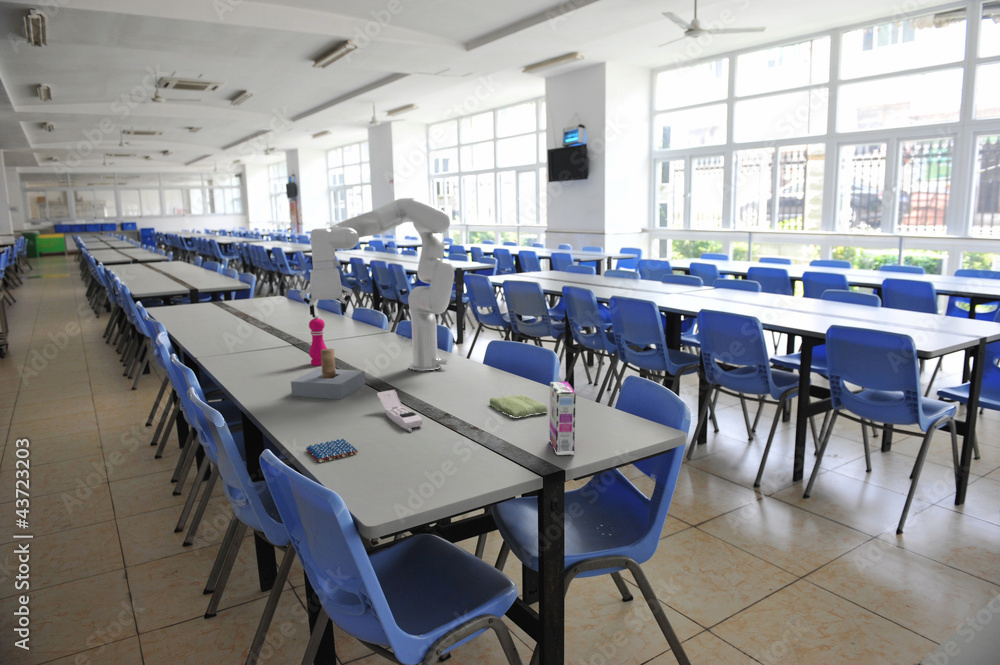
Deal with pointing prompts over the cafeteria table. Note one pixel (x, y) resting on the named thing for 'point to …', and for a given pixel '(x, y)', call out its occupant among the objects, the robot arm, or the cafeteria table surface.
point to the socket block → (328, 384)
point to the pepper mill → (316, 340)
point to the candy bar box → (562, 416)
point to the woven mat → (331, 450)
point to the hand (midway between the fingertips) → (328, 315)
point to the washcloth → (518, 405)
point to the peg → (328, 363)
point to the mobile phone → (399, 411)
